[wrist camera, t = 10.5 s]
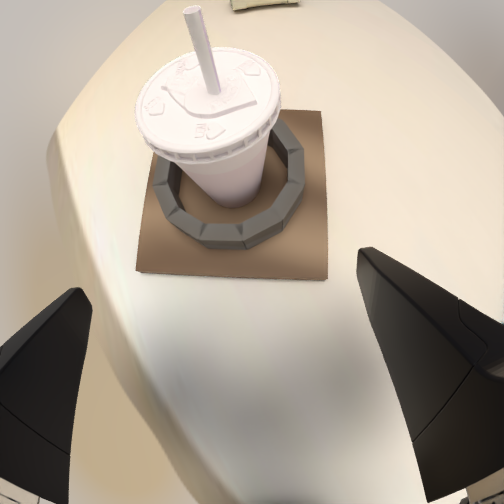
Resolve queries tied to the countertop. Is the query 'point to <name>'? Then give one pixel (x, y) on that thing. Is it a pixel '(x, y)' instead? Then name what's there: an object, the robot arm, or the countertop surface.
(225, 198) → the smoothie
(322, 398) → the countertop surface
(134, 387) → the countertop surface
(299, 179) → the collar stand
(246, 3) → the pipe fitting
